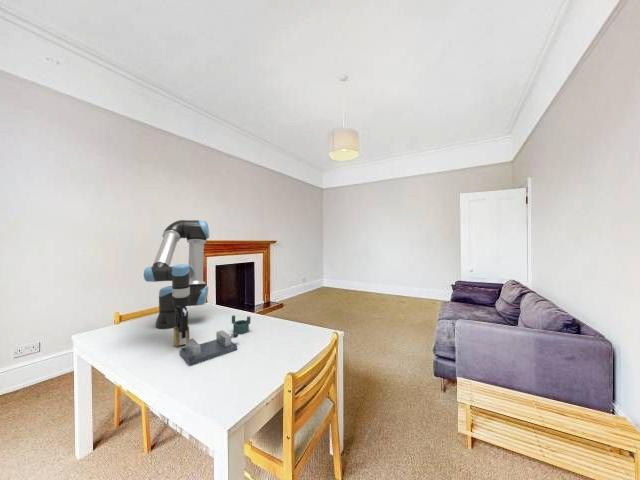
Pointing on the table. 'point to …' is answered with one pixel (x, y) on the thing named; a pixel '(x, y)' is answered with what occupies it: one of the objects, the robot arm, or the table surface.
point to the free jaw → (225, 338)
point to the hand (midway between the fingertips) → (181, 342)
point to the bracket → (240, 325)
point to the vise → (203, 351)
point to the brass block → (177, 335)
